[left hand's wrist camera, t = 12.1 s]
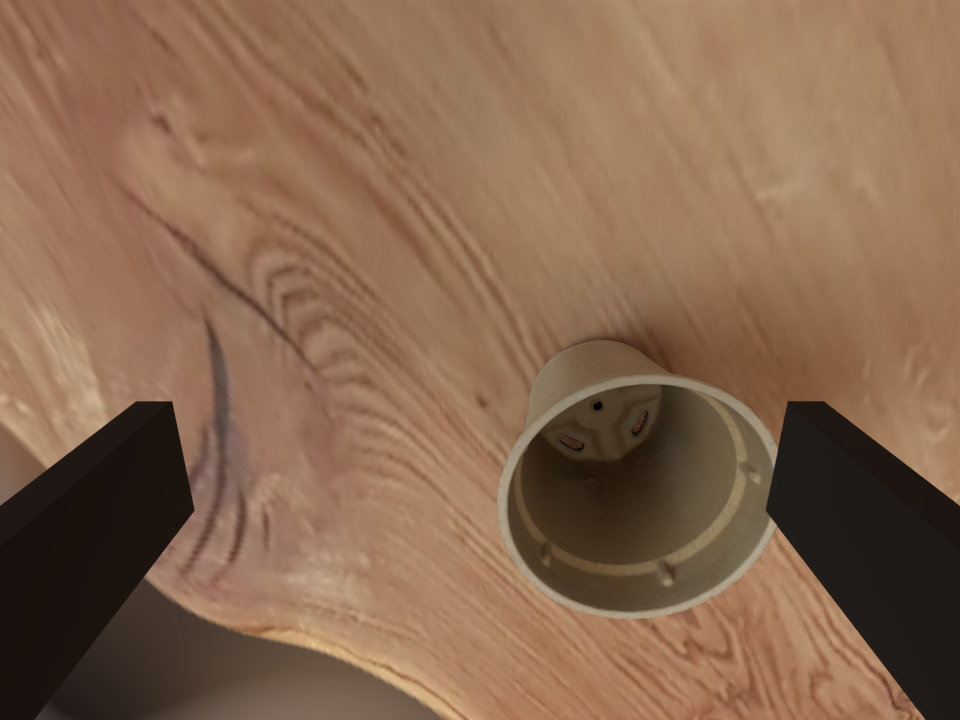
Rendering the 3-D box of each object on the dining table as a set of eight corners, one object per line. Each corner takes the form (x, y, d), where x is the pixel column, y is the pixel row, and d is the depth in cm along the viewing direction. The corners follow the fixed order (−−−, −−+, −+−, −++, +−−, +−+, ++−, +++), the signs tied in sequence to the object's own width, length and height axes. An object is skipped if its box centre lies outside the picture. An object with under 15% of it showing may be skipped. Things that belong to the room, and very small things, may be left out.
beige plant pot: (489, 486, 29) (492, 618, 21) (495, 300, 26) (502, 371, 18) (679, 490, 29) (756, 623, 21) (709, 305, 26) (814, 378, 18)
